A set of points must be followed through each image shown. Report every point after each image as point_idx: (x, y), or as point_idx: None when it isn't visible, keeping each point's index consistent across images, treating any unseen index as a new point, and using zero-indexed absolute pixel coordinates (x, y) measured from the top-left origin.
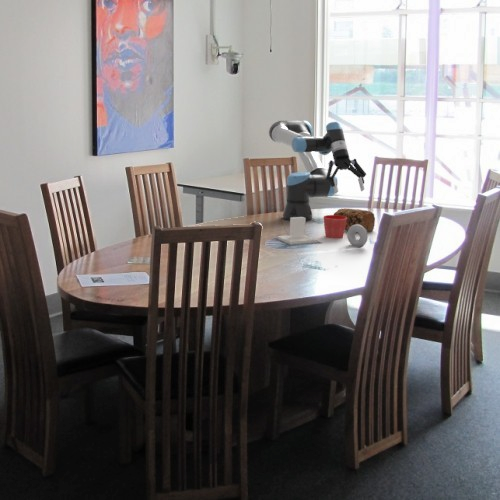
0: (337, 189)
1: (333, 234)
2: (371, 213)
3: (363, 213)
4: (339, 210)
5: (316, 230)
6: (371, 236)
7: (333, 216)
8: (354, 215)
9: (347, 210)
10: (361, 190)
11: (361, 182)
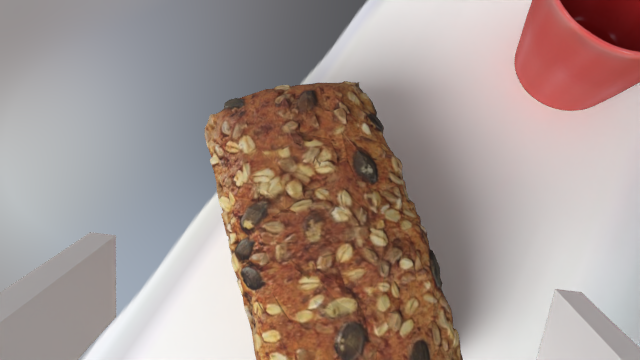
0: (577, 303)
1: (602, 12)
2: (241, 98)
3: (320, 88)
4: (424, 343)
5: (599, 307)
6: (339, 40)
7: (619, 51)
8: (380, 134)
9: (389, 239)
10: (113, 300)
11: (36, 292)
